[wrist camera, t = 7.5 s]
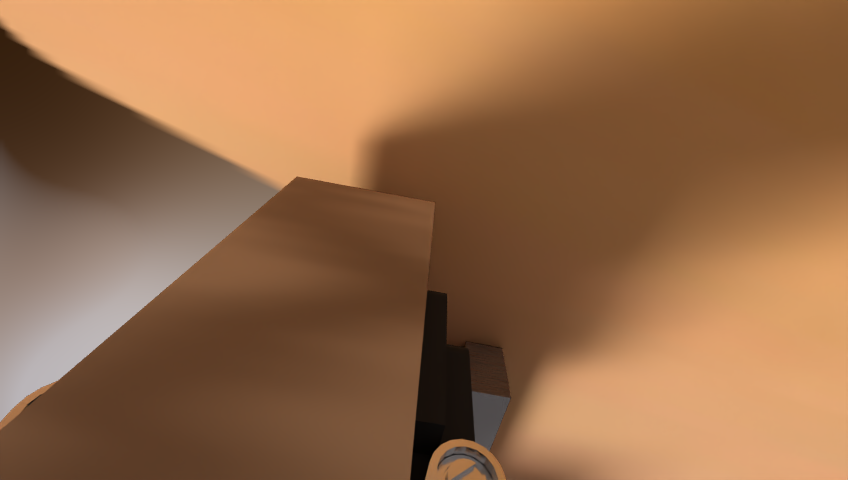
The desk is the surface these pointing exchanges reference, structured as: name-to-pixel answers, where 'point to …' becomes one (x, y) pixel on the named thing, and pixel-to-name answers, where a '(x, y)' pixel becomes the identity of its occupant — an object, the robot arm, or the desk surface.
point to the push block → (256, 357)
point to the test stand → (488, 391)
